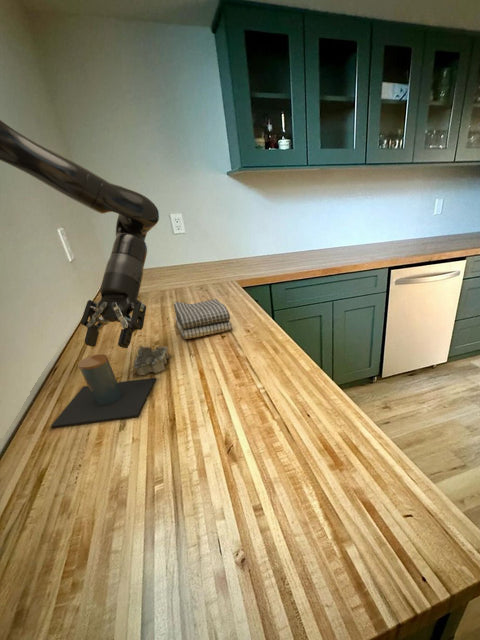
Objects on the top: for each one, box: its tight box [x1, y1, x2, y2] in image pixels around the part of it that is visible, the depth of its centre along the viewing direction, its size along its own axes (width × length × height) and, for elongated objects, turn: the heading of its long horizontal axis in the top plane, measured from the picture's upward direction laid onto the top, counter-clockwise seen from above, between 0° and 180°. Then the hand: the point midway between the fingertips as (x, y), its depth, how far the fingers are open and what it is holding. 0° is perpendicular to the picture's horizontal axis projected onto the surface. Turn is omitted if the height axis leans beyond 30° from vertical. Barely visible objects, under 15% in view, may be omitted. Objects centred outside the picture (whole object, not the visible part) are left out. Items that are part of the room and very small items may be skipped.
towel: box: [173, 298, 232, 340], centre depth 106 cm, size 15×18×8 cm
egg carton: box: [132, 345, 170, 376], centre depth 87 cm, size 11×8×4 cm
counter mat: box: [50, 377, 157, 429], centre depth 74 cm, size 17×15×1 cm
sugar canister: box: [77, 353, 122, 405], centre depth 72 cm, size 6×6×10 cm
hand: (106, 346), depth 73 cm, fingers open, 8 cm apart
